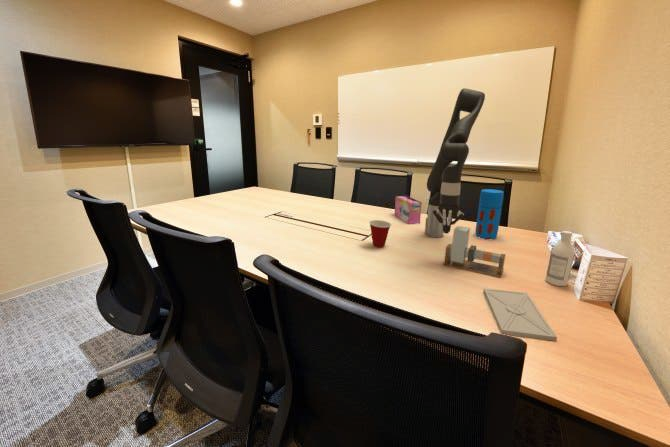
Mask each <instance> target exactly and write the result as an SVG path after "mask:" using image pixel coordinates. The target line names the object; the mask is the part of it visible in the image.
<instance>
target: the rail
mask: <svg viewBox="0 0 670 447" xmlns="http://www.w3.org/2000/svg"><path fill="white" fill-rule="evenodd" d="M469 248H470V247H467V248H466V249H465V254H464V257H466V258H468V251H469ZM451 251H452V243H448V244H447V246H445V254H444V261H443V263H442V265H443V266H445V267H450V268H454V269H459V270H464V271H467V272H473V273H477V274H482V275H487V276H490V277H494V278H495V277H496V278H498V279H499V278H500V279H501V277H502V274H503V272H504V269H505V268H504V266H505V261H506V260H505V259H506V253H496V252H491V251H490V252H489V251H485V250H480V249H476V250H475V251H474V256H473V259H474V260H479V261H483V262H489V263H493V264H498V266H496V265H493V264H488V263H487V264H486V263H482V262H476V261H473V262H469V261H467V259H465V261H464V262H463V263H460V262H455V261H451Z"/></svg>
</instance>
